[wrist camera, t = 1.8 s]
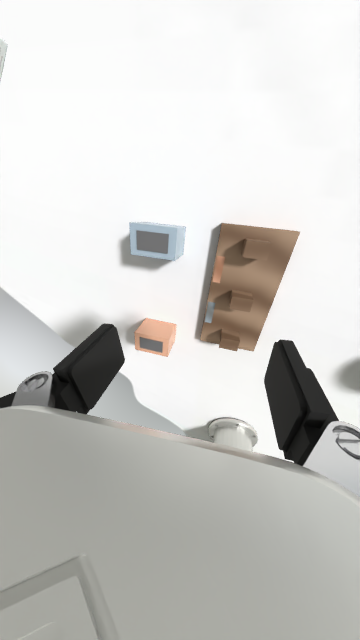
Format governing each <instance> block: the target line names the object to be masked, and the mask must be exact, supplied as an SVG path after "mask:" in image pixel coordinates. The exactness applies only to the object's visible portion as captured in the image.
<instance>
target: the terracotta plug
mask: <svg viewBox="0 0 360 640" xmlns="http://www.w3.org/2000/svg"><path fill="white" fill-rule="evenodd" d="M134 333H135V349H136V350H140V351H145V352H149V353H153V354H158V355H162V356H166V357H168V355H169V353H170V350H171V348H172V346H173V344H174V341H175V335H176V324H173V323H168V322H163V321H158V320H153V319H148V318H146V319H145V320H144V321H143V323H142V324H141V325H140V326H139V327H138V329H137V330H136V331H135V332H134Z"/></svg>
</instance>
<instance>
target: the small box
mask: <svg viewBox="0 0 360 640" xmlns="http://www.w3.org/2000/svg"><path fill="white" fill-rule="evenodd" d="M6 50H7V43H6V42H5V41H4V40H3V38H2V37H1V36H0V80H1V75H2V70H3V65H4V60H5V55H6Z"/></svg>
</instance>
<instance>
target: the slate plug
mask: <svg viewBox="0 0 360 640" xmlns="http://www.w3.org/2000/svg"><path fill="white" fill-rule="evenodd" d="M129 225H130V247H131V254H132V255H139V256H146V257H153V258H160V259H166V260H173V261H175V260H177V259H178V258H179V257H180V256H182V255H183V252H184V241H185V231H186V227H184V226H176V225H167V224H158V223H150V222H129Z"/></svg>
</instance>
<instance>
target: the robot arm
mask: <svg viewBox="0 0 360 640" xmlns="http://www.w3.org/2000/svg"><path fill="white" fill-rule="evenodd" d="M124 361H125V358H124V354H123V351H122V347H121V343H120V339H119V336H118V332H117V329H116V327H114V325H112V324H102V325H101V326H100V327H99V328H98V329H97V330H96V331H95V332H93V333H92V334H91V335H90V336H89V337H88V338H87V339H86V340H84V341H83V342H82V343H81V344H80V345H79V346H78V347H77V348H75V349H74V350H73V351H72V352H71V353H70V354H69V355H68V356H67V357H65V358H64V359H63V360H62V361H61V362H60V363H59V364H58V365H56V366H55V367H54V368H53V370H54V372H55V373H54V374H51V373H50V372H47V371H45V372H39V373H36V374H33V375H31V376H30V377H28V378H26V379H25V380H24V381H23V382H22V383H21V384H20V385H19V387H18V388H17V391H16V392H14V393H11V394H9V395H6V396H4V397H1V398H0V640H360V429H359V428H358V427H356V426H354V425H352V424H349V423H346V422H342V421H339V420H338V418H337V416H336V414H335V412H334V411H333V409H332V407H331V405H330V403H329V401H328V399H327V398H326V396H325V394H324V392H323V390H322V388H321V386H320V384H319V383H318V381H317V379H316V377H315V375H314V373H313V372H312V370H311V369H309V368H306V366H305V364H304V362H303V360H302V358H301V356H300V354H299V352H298V351H297V349H296V347H295V345H294V343H293V341H289V340H279V341H278V342H275V343H274V346H273V350H272V353H271V357H270V360H269V364H268V367H267V371H266V375H265V379H264V383H265V388H266V392H267V397H268V402H269V406H270V411H271V415H272V420H273V425H274V429H275V434H276V438H277V443H278V447H279V449H280V450H283V452H284V456H285V459H288V460H292V461H294V463H292V462H289V461H285V460H282V459H279V458H275V457H272V456H268V455H264V454H260V453H256V452H252V447H253V446H254V445H255V444H256V443H257V441H258V438H257V433H256V431H255V430H254V428H253V427H251V426H250V425H249V424H247V423H245V422H243V421H240V420H237V419H232V418H222V419H218V420H215V421H213V422H212V423H211V424H210V426H209V430H208V432H209V436H210V437H211V439H212V440H213V441H214V443H213V442H209V441H204V440H200V439H195V438H191V437H187V436H182V435H178V434H173V433H169V432H164V431H159V430H155V429H151V428H146V427H141V426H136V425H132V424H127V423H123V422H118V421H114V420H109V419H104V418H100V417H95V416H90V415H86V414H87V413H88V412H89V410H90V409H92V408H93V407H94V406H95V404H96V403H97V401H98V400H99V399H100V397H101V396H102V394H103V393H104V391H105V390H106V389H107V387H108V385H109V384H110V383H111V381H112V380H113V378H114V377H115V375H116V374H117V373H118V371H119V370H120V368H121V367H122V365H123V364H124ZM76 411H77V412H76Z"/></svg>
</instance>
